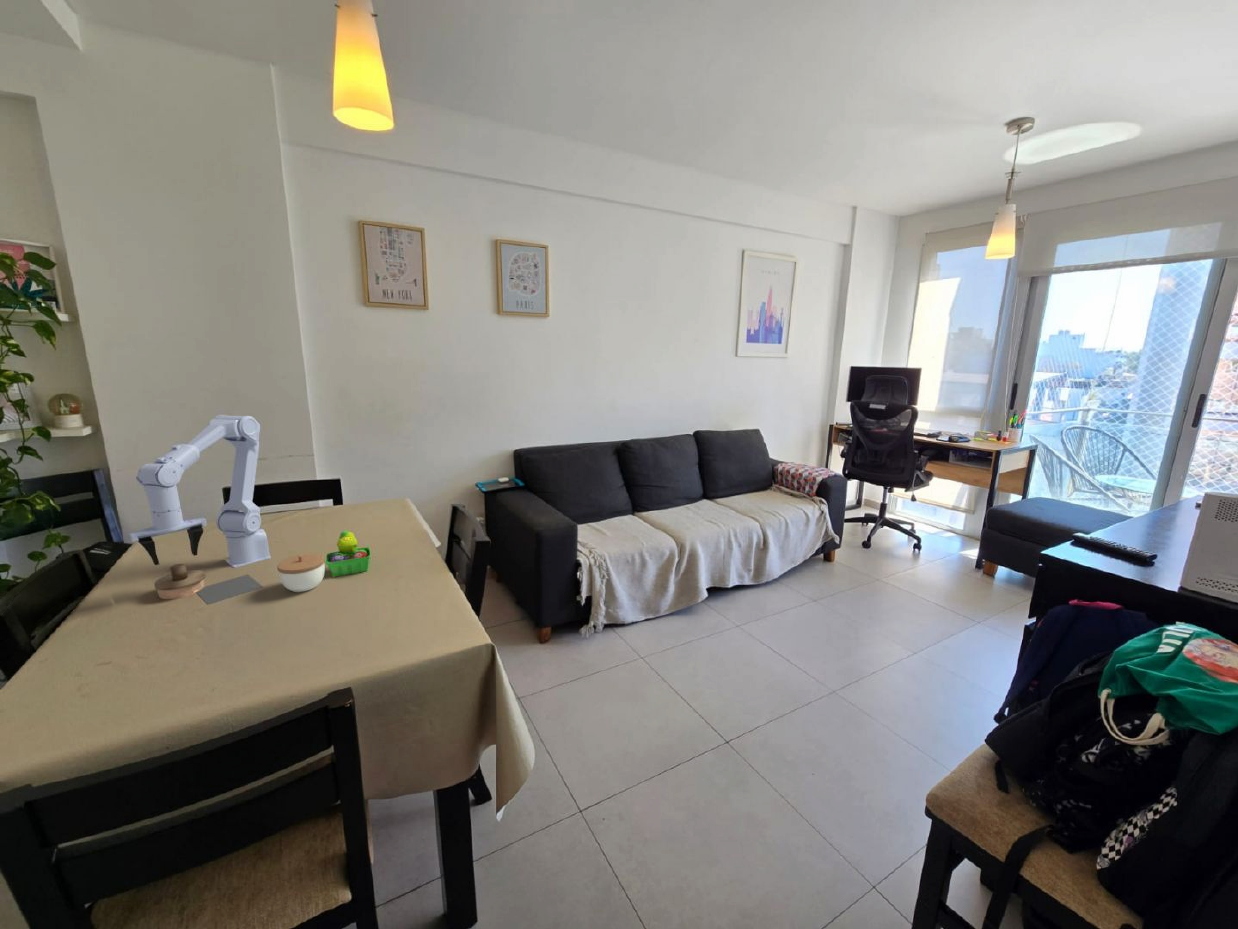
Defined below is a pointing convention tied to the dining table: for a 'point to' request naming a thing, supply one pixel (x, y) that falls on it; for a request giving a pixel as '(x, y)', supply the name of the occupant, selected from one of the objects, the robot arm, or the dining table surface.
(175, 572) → the lid
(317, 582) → the lidded jar
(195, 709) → the dining table surface
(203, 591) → the mat
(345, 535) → the fruit basket
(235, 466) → the robot arm
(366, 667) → the dining table surface
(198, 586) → the bowl
